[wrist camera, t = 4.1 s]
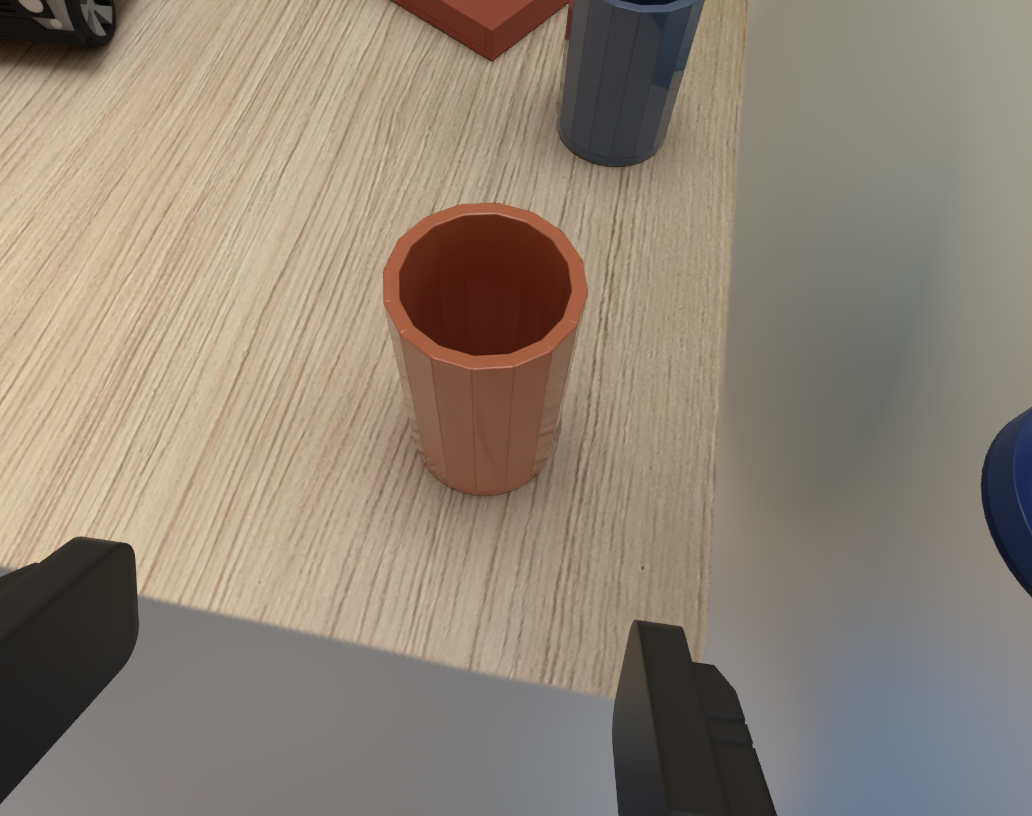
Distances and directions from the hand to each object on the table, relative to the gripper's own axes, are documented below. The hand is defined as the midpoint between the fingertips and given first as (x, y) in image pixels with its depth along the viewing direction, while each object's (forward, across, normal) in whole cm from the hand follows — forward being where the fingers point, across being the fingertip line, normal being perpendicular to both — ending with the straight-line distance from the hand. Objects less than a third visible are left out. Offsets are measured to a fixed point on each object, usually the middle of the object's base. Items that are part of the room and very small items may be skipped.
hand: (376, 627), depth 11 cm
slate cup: (+34, -4, -10) cm, 36 cm away
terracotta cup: (+20, 0, +4) cm, 20 cm away
